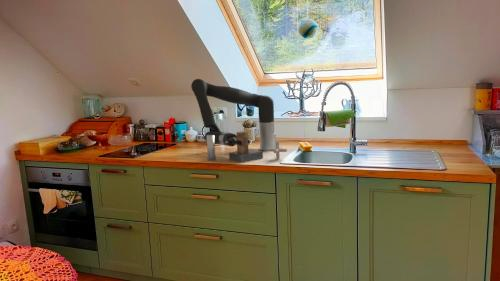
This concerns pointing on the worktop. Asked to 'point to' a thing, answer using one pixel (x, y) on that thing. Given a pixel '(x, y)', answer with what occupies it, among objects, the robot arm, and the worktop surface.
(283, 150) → the pipe connector
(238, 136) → the square walnut bit
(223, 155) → the worktop surface
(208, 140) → the round metal bit
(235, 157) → the socket block
